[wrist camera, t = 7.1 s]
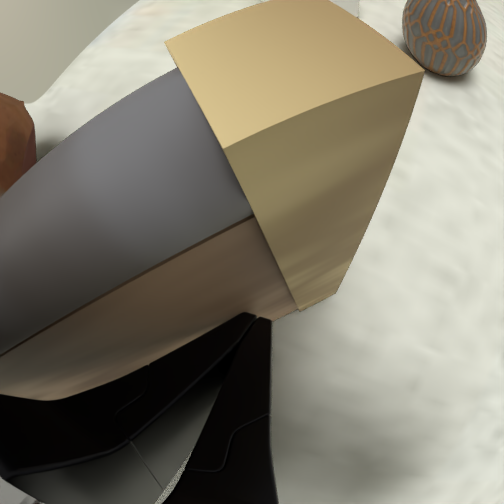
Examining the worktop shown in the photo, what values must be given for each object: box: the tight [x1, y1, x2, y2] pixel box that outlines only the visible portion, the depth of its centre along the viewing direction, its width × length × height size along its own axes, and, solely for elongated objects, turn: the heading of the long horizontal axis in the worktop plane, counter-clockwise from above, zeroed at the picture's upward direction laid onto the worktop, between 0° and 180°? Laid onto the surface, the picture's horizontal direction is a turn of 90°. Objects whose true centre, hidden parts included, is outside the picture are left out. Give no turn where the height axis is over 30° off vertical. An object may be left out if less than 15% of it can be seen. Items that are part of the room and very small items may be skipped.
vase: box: [402, 0, 487, 76], centre depth 13 cm, size 7×7×9 cm
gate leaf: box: [0, 0, 425, 400], centre depth 8 cm, size 15×2×12 cm, turn 114°
